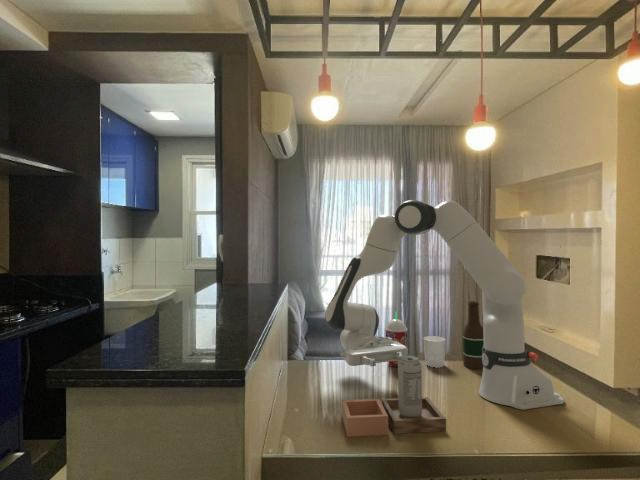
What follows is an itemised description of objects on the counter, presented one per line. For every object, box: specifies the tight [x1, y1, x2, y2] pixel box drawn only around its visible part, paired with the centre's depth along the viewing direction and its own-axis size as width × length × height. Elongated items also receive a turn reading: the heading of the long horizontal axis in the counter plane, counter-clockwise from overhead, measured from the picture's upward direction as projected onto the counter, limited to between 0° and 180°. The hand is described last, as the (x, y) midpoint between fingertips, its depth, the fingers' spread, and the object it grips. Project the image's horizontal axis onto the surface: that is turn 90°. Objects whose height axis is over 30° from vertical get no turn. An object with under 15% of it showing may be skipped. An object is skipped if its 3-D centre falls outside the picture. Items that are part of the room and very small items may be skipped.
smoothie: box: [384, 311, 408, 367], centre depth 143 cm, size 8×8×20 cm
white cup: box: [423, 335, 446, 369], centre depth 142 cm, size 8×8×10 cm
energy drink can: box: [397, 354, 423, 419], centre depth 99 cm, size 6×6×15 cm
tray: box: [381, 396, 447, 434], centre depth 98 cm, size 13×13×3 cm
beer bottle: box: [462, 300, 484, 370], centre depth 140 cm, size 8×8×24 cm
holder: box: [341, 398, 389, 438], centre depth 95 cm, size 10×10×4 cm
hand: (388, 361), depth 110 cm, fingers open, 8 cm apart
